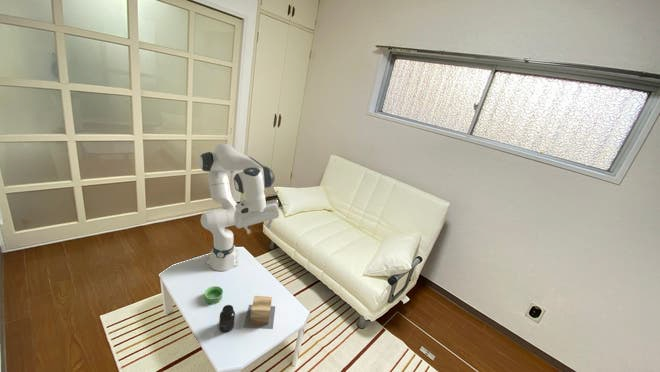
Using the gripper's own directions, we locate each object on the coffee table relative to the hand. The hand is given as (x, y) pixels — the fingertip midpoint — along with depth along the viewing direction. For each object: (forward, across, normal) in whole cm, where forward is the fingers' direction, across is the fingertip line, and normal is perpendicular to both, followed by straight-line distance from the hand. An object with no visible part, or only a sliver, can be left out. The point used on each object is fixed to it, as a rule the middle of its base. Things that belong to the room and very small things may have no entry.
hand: (259, 230), depth 124 cm
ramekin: (+43, +24, -16) cm, 52 cm away
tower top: (+43, +5, +4) cm, 44 cm away
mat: (+48, +6, +4) cm, 48 cm away
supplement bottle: (+45, +22, +4) cm, 51 cm away
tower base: (+48, +6, +4) cm, 48 cm away
